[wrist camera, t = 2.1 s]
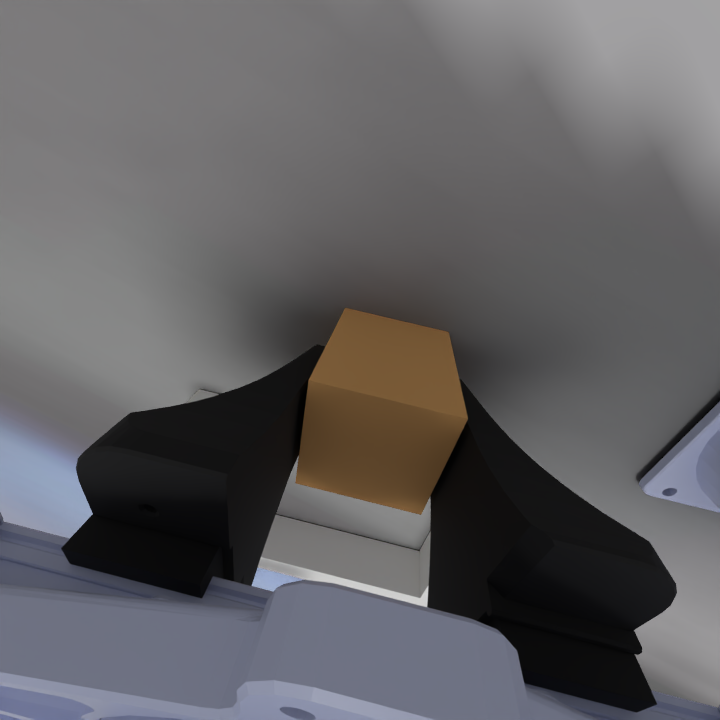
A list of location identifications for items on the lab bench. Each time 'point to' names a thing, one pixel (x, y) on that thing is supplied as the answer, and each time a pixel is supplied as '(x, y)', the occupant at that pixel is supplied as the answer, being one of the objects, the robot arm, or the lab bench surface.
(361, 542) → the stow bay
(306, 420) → the tan wooden cube
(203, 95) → the lab bench surface
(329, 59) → the lab bench surface
